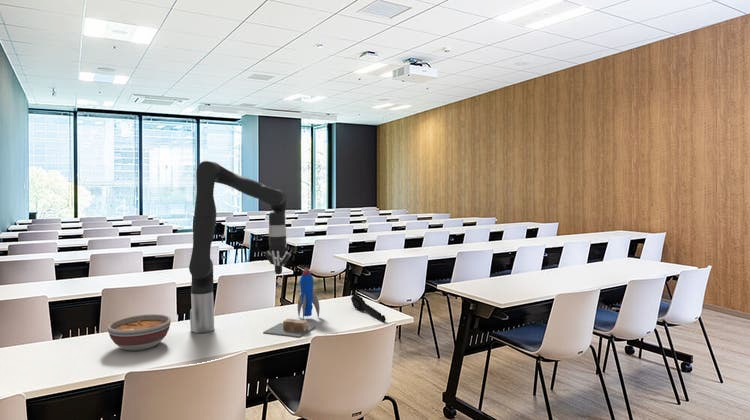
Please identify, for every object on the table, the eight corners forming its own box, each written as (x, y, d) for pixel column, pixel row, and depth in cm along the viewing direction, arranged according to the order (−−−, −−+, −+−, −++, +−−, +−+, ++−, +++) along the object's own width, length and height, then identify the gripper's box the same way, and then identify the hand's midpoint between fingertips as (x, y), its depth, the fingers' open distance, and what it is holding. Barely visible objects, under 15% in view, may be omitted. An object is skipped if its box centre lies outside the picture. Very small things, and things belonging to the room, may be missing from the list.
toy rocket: (319, 317, 232) (318, 266, 231) (315, 322, 223) (314, 269, 221) (298, 316, 233) (296, 265, 232) (292, 322, 224) (291, 269, 222)
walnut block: (283, 321, 210) (303, 323, 207) (288, 318, 214) (308, 320, 210) (283, 330, 210) (303, 332, 207) (288, 327, 214) (308, 329, 210)
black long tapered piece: (388, 323, 222) (388, 307, 222) (381, 324, 220) (381, 308, 220) (355, 305, 253) (355, 291, 253) (348, 306, 251) (348, 292, 251)
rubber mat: (263, 333, 208) (263, 331, 208) (280, 324, 221) (280, 322, 221) (299, 337, 202) (299, 336, 202) (315, 327, 215) (315, 326, 215)
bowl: (130, 360, 178) (129, 334, 178) (96, 350, 190) (95, 325, 190) (183, 342, 198) (182, 318, 197) (149, 333, 210) (148, 311, 209)
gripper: (295, 234, 212) (295, 273, 213) (269, 233, 217) (270, 271, 218) (286, 236, 205) (287, 276, 206) (259, 235, 210) (260, 274, 211)
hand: (278, 273), depth 212 cm, fingers closed
